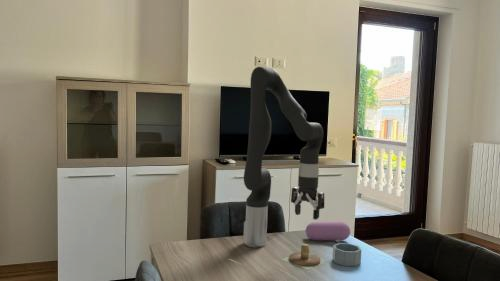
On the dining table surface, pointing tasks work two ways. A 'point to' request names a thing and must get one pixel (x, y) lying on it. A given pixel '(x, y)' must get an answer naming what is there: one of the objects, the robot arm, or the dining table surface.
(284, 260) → the mat
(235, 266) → the dining table surface
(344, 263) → the cup
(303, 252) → the lid
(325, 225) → the toy
